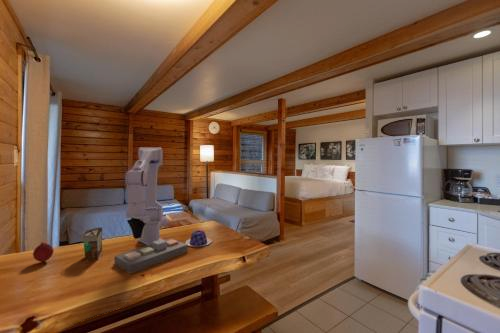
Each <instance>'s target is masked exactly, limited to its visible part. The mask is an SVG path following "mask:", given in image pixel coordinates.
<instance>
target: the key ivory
mask: <svg viewBox="0 0 500 333" xmlns="http://www.w3.org/2000/svg"><path fill="white" fill-rule="evenodd" d="M139 257H141V254H140V253H138V252H136V251H134V252H131V253H128V254H125V255H124V258H126V259H127V260H129V261H130V260H133V259H136V258H139Z"/></svg>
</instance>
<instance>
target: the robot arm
mask: <svg viewBox="0 0 500 333" xmlns="http://www.w3.org/2000/svg"><path fill="white" fill-rule="evenodd" d="M163 153H164V152H163V149H162V147H147V146H146V147H142V146H140V147H138V151H137V155H138V156H137V157H138V160H137V161H135V163H134V164H133V166H132V168H131V169H130V170H128V171H126V172H125V177H124V178H125V180H124V181H125V185H126V191H127V200H128V201H127V204H128V207H127V208H128V210H125V218H126V219H128V220H127V221H126V222H127V223H128V225H129V227H130V230H131V233H132V237H133V239H135V240H136V239H137V242H140V243H142V244H143V245H144V244H145V246H148V245H151V244H152V242H154V241H157V240H161V239H162V240H165V239H164V238H161V237H160V235H161V234H160V222H162V221H163V217H164V210H163V209H164V208H163V205H162V204H161V202H158V201H157V200H158V199H157V198H158V172H159V167H161V166H163V157H164V156H163V155H164V154H163Z"/></svg>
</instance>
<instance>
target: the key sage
mask: <svg viewBox="0 0 500 333" xmlns="http://www.w3.org/2000/svg"><path fill="white" fill-rule="evenodd" d="M153 252H154V249H152V248H150V247H147V248H144V249H140V250H139V253H140V254H142V255H147V254H150V253H153Z"/></svg>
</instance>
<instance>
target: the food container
mask: <svg viewBox="0 0 500 333" xmlns="http://www.w3.org/2000/svg"><path fill="white" fill-rule="evenodd" d="M80 237H81V238H80V239H81V241H83V250H84V257H85V258H84V259H85V260H87V261H98V260H99V259H100V256H101V254H102V252H103V227H102V226H101V227H94V228H89V229H87V230H84V231H83V232H82V234H81V236H80Z"/></svg>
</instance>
